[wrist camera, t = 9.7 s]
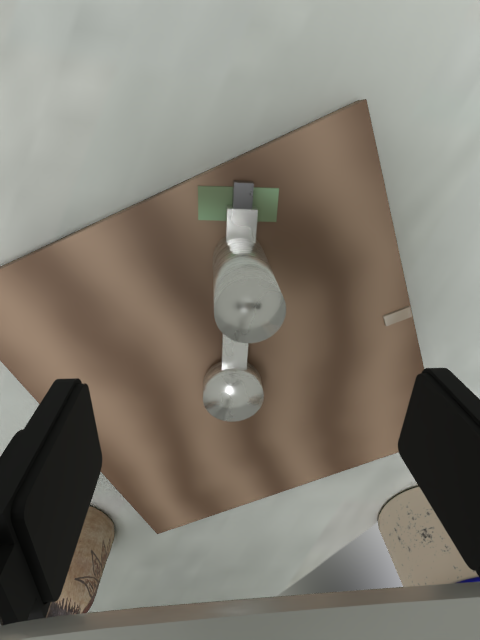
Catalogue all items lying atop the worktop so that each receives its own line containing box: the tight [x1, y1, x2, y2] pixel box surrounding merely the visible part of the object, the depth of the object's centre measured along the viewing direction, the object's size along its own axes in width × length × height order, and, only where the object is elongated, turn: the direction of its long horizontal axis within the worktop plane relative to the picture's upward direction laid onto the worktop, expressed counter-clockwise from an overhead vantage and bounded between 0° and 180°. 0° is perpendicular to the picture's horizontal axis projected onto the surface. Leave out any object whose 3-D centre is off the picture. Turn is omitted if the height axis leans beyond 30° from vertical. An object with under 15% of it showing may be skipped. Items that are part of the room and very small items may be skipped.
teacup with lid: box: [378, 487, 480, 587], centre depth 31 cm, size 12×9×12 cm
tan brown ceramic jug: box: [46, 506, 114, 618], centre depth 29 cm, size 7×7×12 cm
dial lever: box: [203, 180, 286, 422], centre depth 20 cm, size 15×4×7 cm, turn 177°
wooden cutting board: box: [0, 99, 424, 534], centre depth 26 cm, size 26×26×1 cm
